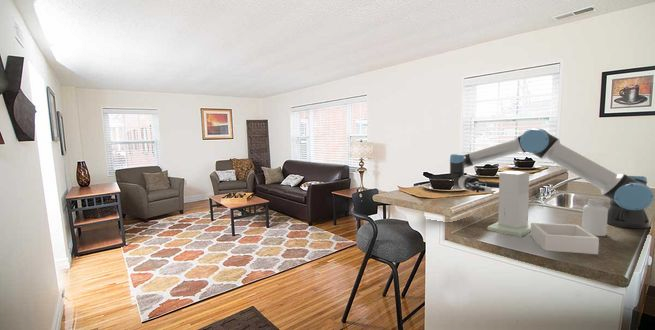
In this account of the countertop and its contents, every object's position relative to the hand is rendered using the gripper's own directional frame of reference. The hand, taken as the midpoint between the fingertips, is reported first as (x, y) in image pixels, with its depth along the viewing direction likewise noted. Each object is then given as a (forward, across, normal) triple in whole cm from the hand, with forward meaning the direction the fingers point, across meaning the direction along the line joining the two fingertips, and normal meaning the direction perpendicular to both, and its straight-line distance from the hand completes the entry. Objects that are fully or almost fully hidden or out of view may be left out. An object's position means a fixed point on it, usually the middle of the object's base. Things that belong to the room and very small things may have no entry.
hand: (501, 189), depth 144 cm
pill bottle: (+26, -24, -18) cm, 39 cm away
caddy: (+29, +1, -17) cm, 34 cm away
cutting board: (+7, 0, -17) cm, 19 cm away
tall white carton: (+6, 0, -16) cm, 17 cm away
